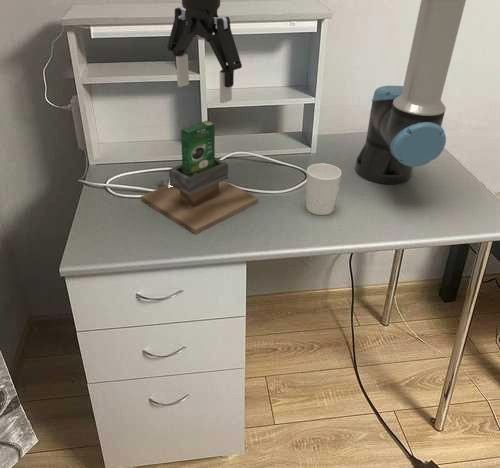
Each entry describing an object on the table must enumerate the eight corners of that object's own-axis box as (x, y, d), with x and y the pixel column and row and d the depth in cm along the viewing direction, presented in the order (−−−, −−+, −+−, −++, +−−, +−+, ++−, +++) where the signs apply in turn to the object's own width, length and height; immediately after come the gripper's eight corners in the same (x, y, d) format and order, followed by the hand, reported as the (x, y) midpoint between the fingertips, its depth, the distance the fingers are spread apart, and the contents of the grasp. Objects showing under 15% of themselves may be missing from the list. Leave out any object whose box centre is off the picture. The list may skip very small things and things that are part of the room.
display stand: (258, 202, 128) (259, 167, 123) (195, 234, 116) (194, 197, 111) (203, 174, 139) (202, 140, 134) (141, 200, 127) (137, 165, 122)
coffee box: (208, 170, 127) (207, 118, 120) (216, 174, 125) (215, 122, 118) (181, 181, 122) (179, 128, 115) (189, 185, 121) (187, 132, 113)
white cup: (335, 218, 123) (340, 181, 117) (301, 214, 124) (305, 177, 118) (336, 201, 129) (342, 165, 124) (305, 198, 130) (308, 161, 125)
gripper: (145, -21, 106) (154, 83, 118) (232, -3, 92) (232, 113, 104) (174, -25, 111) (179, 75, 123) (261, -8, 97) (258, 103, 109)
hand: (204, 93), depth 114 cm, fingers open, 13 cm apart
